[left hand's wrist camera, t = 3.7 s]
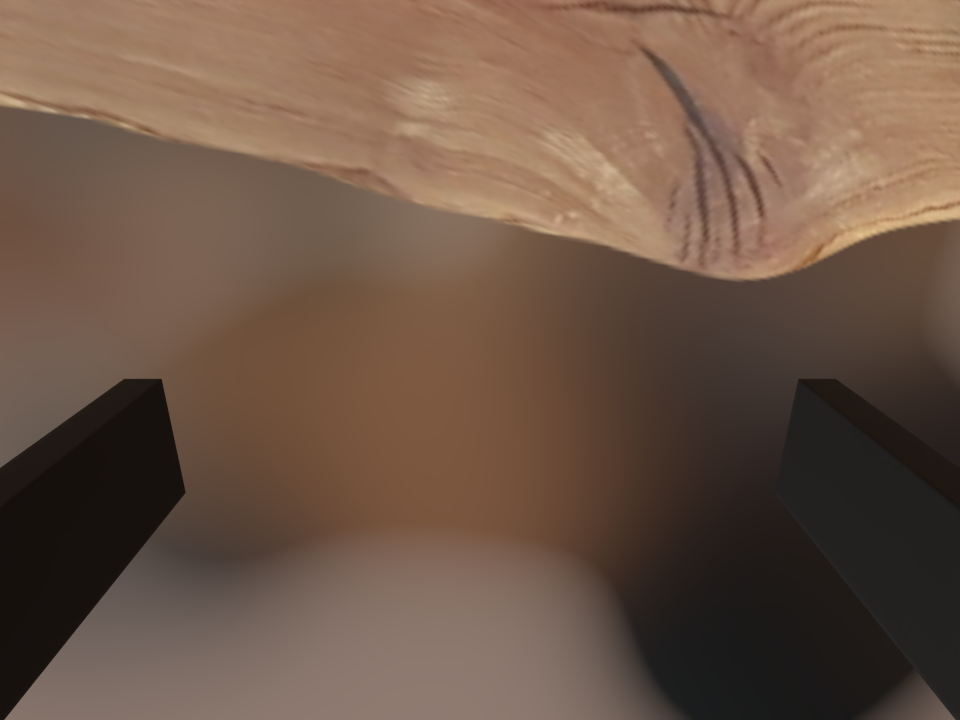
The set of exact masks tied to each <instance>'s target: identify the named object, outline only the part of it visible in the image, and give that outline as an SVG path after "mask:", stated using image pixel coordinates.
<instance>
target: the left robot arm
mask: <svg viewBox="0 0 960 720" xmlns="http://www.w3.org/2000/svg"><path fill="white" fill-rule="evenodd" d="M184 494H185V488H184V483H183V478H182V473H181V469H180V464H179V459H178V455H177V450H176V445H175V440H174V436H173V431H172V426H171V421H170V417H169V412H168V407H167V403H166V398H165V393H164V388H163V384H162V379H124V380H122V381H121V382H119V383H118V384H117V385H115V386H114V387H112V388H111V389H110V390H108V391H107V392H105V393H104V394H103V395H101V396H100V397H98V398H97V399H96V400H94V401H93V402H92V403H90V404H89V405H87V406H86V407H85V408H83V409H82V410H80V411H79V412H78V413H76V414H75V415H73V416H72V417H71V418H69V419H68V420H66V421H65V422H64V423H62V424H61V425H59V426H58V427H57V428H55V429H54V430H52V431H51V432H50V433H48V434H47V435H46V436H44V437H43V438H41V439H40V440H39V441H37V442H36V443H34V444H33V445H32V446H30V447H29V448H27V449H26V450H25V451H23V452H22V453H20V454H19V455H18V456H16V457H15V458H13V459H12V460H11V461H9V462H8V463H7V464H5V465H4V466H2V467H1V468H0V720H4V719H5V718H6V717H7V716H8V714H9V713H10V712H11V711H12V709H13V708H14V707H15V706H16V704H17V703H18V702H19V701H20V699H21V698H22V697H23V696H24V694H25V693H26V692H27V691H28V689H29V688H30V687H31V686H32V684H33V683H34V682H35V680H36V679H37V678H38V677H39V676H40V674H41V673H42V672H43V671H44V669H45V668H46V667H47V666H48V664H49V663H50V662H51V661H52V659H53V658H54V657H55V656H56V654H57V653H58V652H59V650H60V649H61V648H62V647H63V645H64V644H65V643H66V642H67V640H68V639H69V638H70V637H71V635H72V634H73V633H74V632H75V630H76V629H77V628H78V627H79V625H80V624H81V623H82V622H83V620H84V619H85V618H86V617H87V615H88V614H89V613H90V612H91V610H92V609H93V608H94V607H95V605H96V604H97V603H98V602H99V600H100V599H101V598H102V597H103V595H104V594H105V593H106V592H107V590H108V589H109V588H110V587H111V585H112V584H113V583H114V582H115V580H116V579H117V578H118V577H119V575H120V574H121V573H122V572H123V570H124V569H125V568H126V567H127V565H128V564H129V563H130V562H131V560H132V559H133V558H134V557H135V555H136V554H137V553H138V552H139V550H140V549H141V548H142V547H143V545H144V544H145V543H146V542H147V540H148V539H149V538H150V536H151V535H152V534H153V533H154V532H155V530H156V529H157V528H158V527H159V525H160V524H161V523H162V521H163V520H164V519H165V518H166V516H167V515H168V514H169V513H170V511H171V510H172V509H173V508H174V506H175V505H176V504H177V503H178V501H179V500H180V499H181V498H182V496H183V495H184ZM775 494H776V495H777V496H778V498H779V499H780V500H781V501H782V503H783V504H784V505H785V506H786V508H787V509H788V510H789V511H790V513H791V514H792V515H793V516H794V518H795V519H796V520H797V522H798V523H799V524H800V525H801V526H802V528H803V529H804V530H805V532H806V533H807V534H808V535H809V537H810V538H811V539H812V540H813V541H814V543H815V544H816V545H817V547H818V548H819V549H820V550H821V552H822V553H823V554H824V555H825V557H826V558H827V559H828V560H829V562H830V563H831V564H832V565H833V567H834V568H835V569H836V570H837V572H838V573H839V574H840V575H841V577H842V578H843V579H844V580H845V582H846V583H847V584H848V585H849V587H850V588H851V589H852V590H853V592H854V593H855V594H856V595H857V597H858V598H859V599H860V600H861V602H862V603H863V604H864V605H865V607H866V608H867V609H868V610H869V612H870V613H871V614H872V615H873V617H874V618H875V619H876V620H877V622H878V623H879V624H880V625H881V627H882V628H883V629H884V630H885V632H886V633H887V634H888V635H889V637H890V638H891V639H892V640H893V642H894V643H895V644H896V646H897V647H898V648H899V649H900V650H901V652H902V653H903V654H904V656H905V657H906V658H907V659H908V661H909V662H910V663H911V664H912V666H913V667H914V668H915V669H916V671H917V672H918V673H919V674H920V676H921V677H922V678H923V679H924V681H925V682H926V683H927V684H928V686H929V687H930V688H931V689H932V691H933V692H934V693H935V694H936V695H937V697H938V698H939V699H940V701H941V702H942V703H943V704H944V706H945V707H946V708H947V709H948V711H949V712H950V713H951V714H952V716H953V717H954V718H955V719H956V720H960V468H959V467H958V466H956V465H955V464H954V463H952V462H951V461H949V460H948V459H947V458H945V457H944V456H942V455H941V454H940V453H938V452H937V451H935V450H934V449H933V448H931V447H930V446H928V445H927V444H926V443H924V442H923V441H921V440H920V439H919V438H917V437H916V436H914V435H913V434H912V433H910V432H909V431H908V430H906V429H905V428H903V427H902V426H901V425H899V424H898V423H896V422H895V421H893V420H892V419H891V418H889V417H888V416H886V415H885V414H884V413H882V412H881V411H880V410H878V409H877V408H875V407H874V406H873V405H871V404H870V403H868V402H867V401H866V400H864V399H863V398H862V397H860V396H859V395H857V394H856V393H855V392H853V391H852V390H850V389H849V388H848V387H846V386H845V385H843V384H842V383H841V382H839V381H838V380H836V379H798V384H797V388H796V393H795V398H794V402H793V407H792V412H791V417H790V421H789V426H788V431H787V436H786V440H785V445H784V450H783V454H782V459H781V464H780V469H779V473H778V478H777V483H776V488H775Z"/></svg>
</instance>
